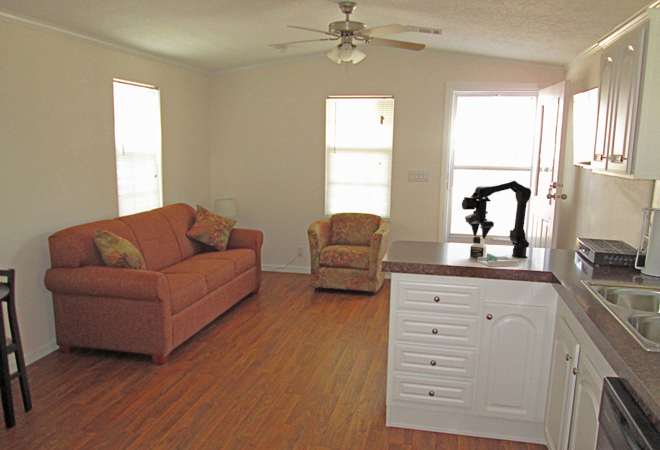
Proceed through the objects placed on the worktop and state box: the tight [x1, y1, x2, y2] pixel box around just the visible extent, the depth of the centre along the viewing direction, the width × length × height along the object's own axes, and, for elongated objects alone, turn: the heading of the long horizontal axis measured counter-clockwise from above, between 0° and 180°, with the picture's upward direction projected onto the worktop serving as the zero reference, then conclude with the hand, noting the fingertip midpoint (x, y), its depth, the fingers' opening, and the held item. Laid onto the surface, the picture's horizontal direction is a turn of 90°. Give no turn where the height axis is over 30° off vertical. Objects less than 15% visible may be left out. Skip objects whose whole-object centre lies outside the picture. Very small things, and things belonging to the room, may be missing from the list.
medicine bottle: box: [469, 235, 487, 260], centre depth 282 cm, size 7×7×12 cm
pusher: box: [477, 252, 498, 261], centre depth 268 cm, size 8×8×4 cm
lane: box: [476, 255, 519, 267], centre depth 270 cm, size 17×12×2 cm
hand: (479, 237), depth 281 cm, fingers open, 9 cm apart
